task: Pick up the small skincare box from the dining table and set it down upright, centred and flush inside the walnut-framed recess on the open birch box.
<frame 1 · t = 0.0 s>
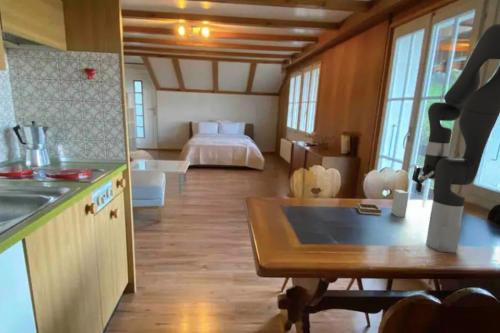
hand: (429, 192, 114), 17 cm above the table, tool pointing down, fingers open, 8 cm apart
open birch box: (368, 211, 141), on the table
skincare box: (397, 215, 137), on the table
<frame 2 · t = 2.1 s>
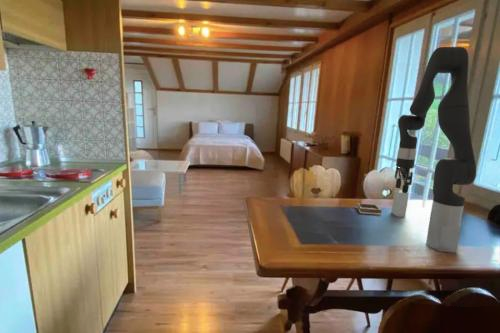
hand: (401, 190, 135), 12 cm above the table, tool pointing down, fingers open, 8 cm apart
nothing on the table moved.
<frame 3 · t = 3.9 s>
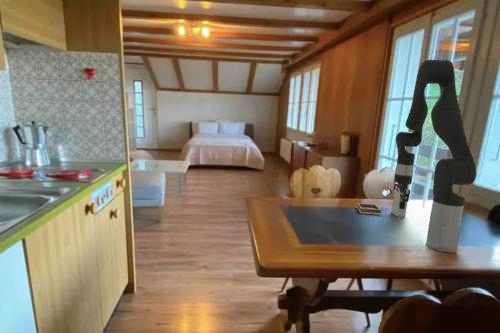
hand: (399, 206, 137), 4 cm above the table, tool pointing down, fingers closed on skincare box, 6 cm apart
skincare box: (397, 215, 137), on the table, touching gripper
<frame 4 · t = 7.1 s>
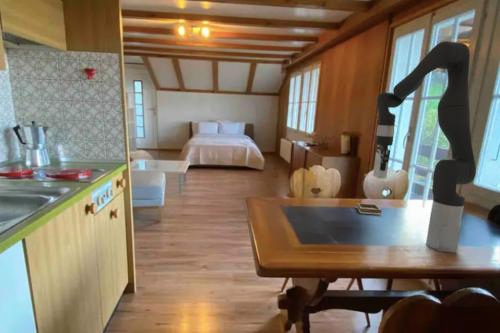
hand: (380, 169, 137), 22 cm above the table, tool pointing down, fingers closed on skincare box, 6 cm apart
skincare box: (379, 177, 137), point 18 cm above the table, touching gripper
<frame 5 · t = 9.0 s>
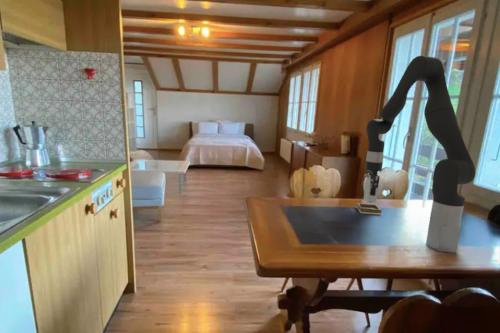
hand: (370, 193, 139), 9 cm above the table, tool pointing down, fingers closed on skincare box, 6 cm apart
skincare box: (369, 201, 140), point 5 cm above the table, touching gripper
when the fingers open (7 cm above the table, at t = 10.5 s): skincare box drops 2 cm, resting on open birch box.
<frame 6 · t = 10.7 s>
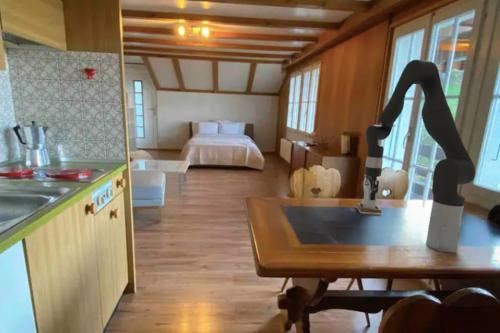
hand: (369, 197, 140), 7 cm above the table, tool pointing down, fingers open, 8 cm apart
skincare box: (368, 209, 141), point 1 cm above the table, touching open birch box
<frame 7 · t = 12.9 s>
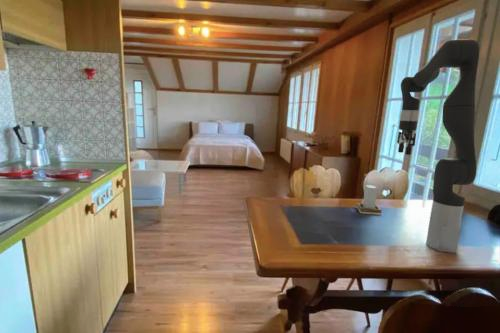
hand: (404, 153, 137), 30 cm above the table, tool pointing down, fingers open, 8 cm apart
nothing on the table moved.
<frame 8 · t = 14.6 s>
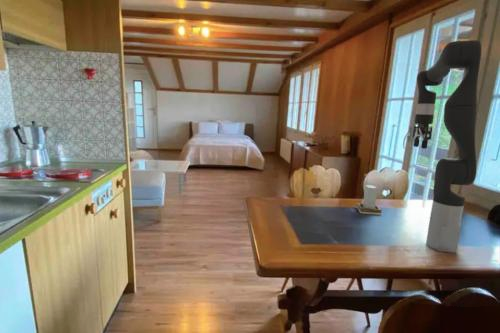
hand: (419, 147, 136), 33 cm above the table, tool pointing down, fingers open, 8 cm apart
nothing on the table moved.
at the end: skincare box 0.3 cm off-centre on the open birch box, point 0.6 cm above the open birch box's base; skincare box tilted 0°; the gripper is holding nothing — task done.
